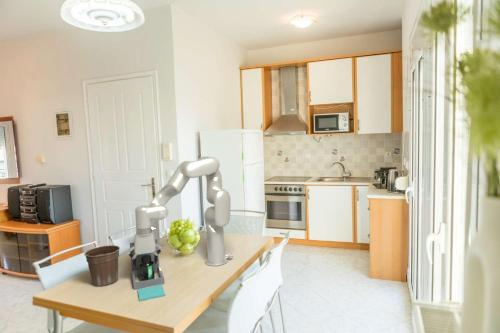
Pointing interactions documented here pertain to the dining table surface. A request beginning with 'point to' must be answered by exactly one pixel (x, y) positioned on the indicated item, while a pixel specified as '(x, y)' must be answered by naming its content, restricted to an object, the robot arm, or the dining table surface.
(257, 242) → the dining table surface
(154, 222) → the cylinder vase
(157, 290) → the mat
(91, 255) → the plant pot
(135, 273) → the case
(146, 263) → the supplement bottle
